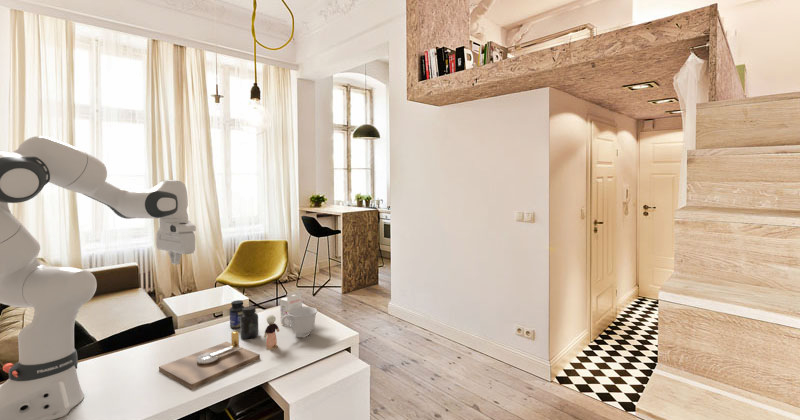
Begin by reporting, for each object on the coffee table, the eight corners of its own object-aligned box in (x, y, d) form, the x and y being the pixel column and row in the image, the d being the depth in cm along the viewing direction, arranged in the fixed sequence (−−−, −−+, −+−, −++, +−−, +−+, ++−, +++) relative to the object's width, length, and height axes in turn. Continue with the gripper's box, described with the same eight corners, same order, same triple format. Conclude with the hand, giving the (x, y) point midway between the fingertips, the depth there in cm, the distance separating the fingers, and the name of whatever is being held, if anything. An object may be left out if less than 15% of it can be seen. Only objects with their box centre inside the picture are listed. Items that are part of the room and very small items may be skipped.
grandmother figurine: (272, 343, 145) (271, 311, 145) (281, 344, 145) (280, 312, 144) (260, 351, 138) (260, 318, 137) (270, 352, 137) (269, 319, 136)
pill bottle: (239, 329, 159) (239, 304, 158) (226, 328, 160) (226, 303, 159) (248, 324, 165) (247, 300, 164) (235, 323, 166) (235, 299, 165)
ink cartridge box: (295, 319, 172) (294, 287, 171) (302, 321, 170) (302, 289, 169) (280, 324, 165) (279, 292, 164) (287, 327, 162) (287, 293, 161)
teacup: (276, 335, 153) (275, 311, 152) (309, 327, 162) (309, 304, 162) (288, 345, 144) (288, 320, 143) (322, 335, 153) (322, 311, 153)
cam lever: (203, 366, 122) (202, 347, 122) (192, 361, 126) (191, 342, 126) (243, 350, 135) (242, 332, 134) (231, 345, 138) (231, 328, 138)
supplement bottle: (238, 336, 152) (237, 307, 151) (255, 332, 156) (255, 304, 156) (243, 341, 147) (242, 311, 146) (260, 337, 151) (260, 308, 150)
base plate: (191, 389, 112) (191, 383, 112) (159, 371, 123) (158, 366, 123) (259, 358, 132) (259, 354, 132) (226, 345, 143) (226, 341, 143)
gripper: (150, 224, 136) (151, 262, 137) (179, 228, 125) (181, 269, 126) (168, 223, 141) (170, 259, 142) (198, 226, 130) (199, 265, 131)
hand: (175, 264), depth 134 cm, fingers closed
